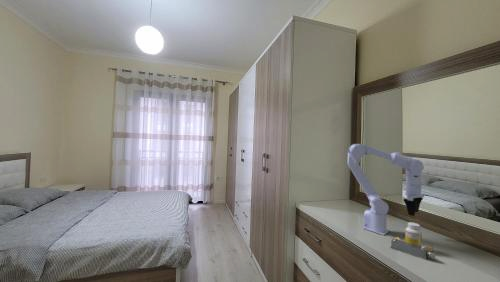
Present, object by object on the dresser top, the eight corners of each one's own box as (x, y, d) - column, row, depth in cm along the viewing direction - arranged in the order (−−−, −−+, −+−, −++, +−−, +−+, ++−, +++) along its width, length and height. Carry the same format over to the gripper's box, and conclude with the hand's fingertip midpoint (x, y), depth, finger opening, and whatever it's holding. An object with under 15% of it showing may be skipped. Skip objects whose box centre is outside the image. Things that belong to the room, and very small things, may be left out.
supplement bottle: (413, 250, 86) (414, 226, 86) (401, 244, 91) (402, 221, 91) (424, 250, 86) (425, 226, 87) (412, 243, 92) (413, 221, 92)
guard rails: (391, 244, 90) (391, 241, 90) (396, 239, 95) (396, 236, 95) (429, 257, 81) (429, 254, 81) (432, 250, 86) (433, 247, 86)
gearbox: (391, 247, 87) (391, 239, 87) (393, 245, 90) (393, 237, 90) (434, 262, 77) (434, 253, 77) (435, 259, 80) (435, 250, 80)
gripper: (421, 187, 93) (421, 219, 92) (427, 184, 102) (426, 212, 102) (401, 185, 98) (401, 215, 98) (409, 182, 108) (408, 208, 107)
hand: (413, 213), depth 100 cm, fingers open, 7 cm apart
